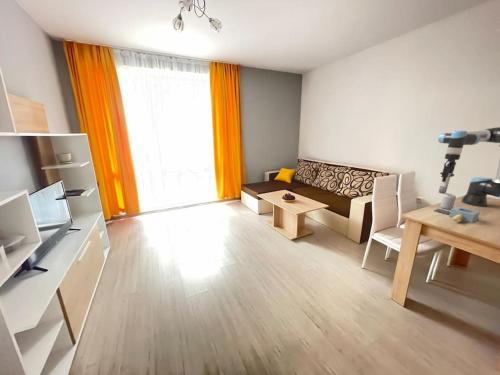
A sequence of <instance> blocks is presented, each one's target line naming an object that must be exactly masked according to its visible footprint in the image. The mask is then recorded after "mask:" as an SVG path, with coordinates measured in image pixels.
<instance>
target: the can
mask: <svg viewBox="0 0 500 375" xmlns="http://www.w3.org/2000/svg"><path fill="white" fill-rule="evenodd" d="M456 199H457V197H456V194H453V193H449V192H448V193H447V192H446V194H443V196H442V199H441V203H440V206H439V207H441V209H443V210H448V211H449V210H450V211H451V209H452V208H454V205H455V202H456Z"/></svg>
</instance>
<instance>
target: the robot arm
mask: <svg viewBox="0 0 500 375" xmlns="http://www.w3.org/2000/svg"><path fill="white" fill-rule="evenodd" d="M437 141H438V143H440V144H448V145H447V148H446V153H445V155H444V159H445V160H446V162H445V163H443V169H442V171H441V172H442V174H441V176H440V177H441V182H440V183H439V184H440V185H439V187H440V186H444V187H445V186H446V182H447V179H448V178H447V177H448V174H449V173H452V174H454V170H455V168H456V165H457V162H456V161H459V160H460V158H461V155H462V152H463V148H464V146H473V145H477V144H479V143H483V142H484V143H485V142H486V143H493V144H494V143H495V144H499V148H500V126H499V127H490V128H485V129H484V128H483V129H479V130H473V131H467V130H453V131H452V132H446V133H444V132H443V133H440V134H439V136H438V137H437ZM450 178H453V176H451V177H450ZM488 195H489V196H493V197H496V198H499V199H500V159H499V160H498V165H497V169H496V174H495V178H490V177H472V179H470V182H469V185H468V189H467V192H466V193H465V195H464V196H463V197H462V198H461V202H462V203H464V204H467V205H469V206H470V205H471V206H476V207H487V205H488V199H487V196H488Z"/></svg>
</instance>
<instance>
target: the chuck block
mask: <svg viewBox="0 0 500 375" xmlns="http://www.w3.org/2000/svg"><path fill="white" fill-rule="evenodd" d="M449 212H450V214H448V217H449V218H452V220H453V221H454V222H455V221H456V222H458V221H459V220H460V221H462V222H466V223H471V224H472V223H474V222H475V221H477V220H479V217H480V214H481V211H478V210H475V209H470V208H466V207H462V206H457V205H456V206H455V207H453V208H452V209H450V211H449Z"/></svg>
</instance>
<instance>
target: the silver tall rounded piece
mask: <svg viewBox="0 0 500 375" xmlns="http://www.w3.org/2000/svg"><path fill="white" fill-rule="evenodd" d="M442 172H443V171H441V172H440V173H439V174H440V175H442ZM451 176H452V177H454V176H455V174H454V173H453V174H452V173H449V174H448V177H447V178H448V179H447V182H446V186H445V187H444V186H440V185H439V189H438V193H439V194H443V195H445V194H446V193H447V190H448V186H449V183H450V180H451V178H452V177H451Z"/></svg>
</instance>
